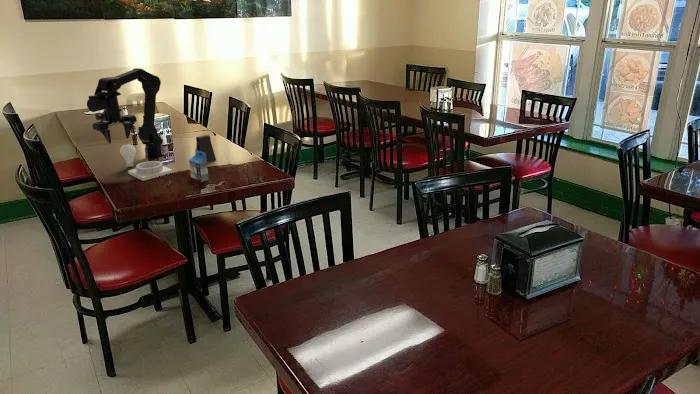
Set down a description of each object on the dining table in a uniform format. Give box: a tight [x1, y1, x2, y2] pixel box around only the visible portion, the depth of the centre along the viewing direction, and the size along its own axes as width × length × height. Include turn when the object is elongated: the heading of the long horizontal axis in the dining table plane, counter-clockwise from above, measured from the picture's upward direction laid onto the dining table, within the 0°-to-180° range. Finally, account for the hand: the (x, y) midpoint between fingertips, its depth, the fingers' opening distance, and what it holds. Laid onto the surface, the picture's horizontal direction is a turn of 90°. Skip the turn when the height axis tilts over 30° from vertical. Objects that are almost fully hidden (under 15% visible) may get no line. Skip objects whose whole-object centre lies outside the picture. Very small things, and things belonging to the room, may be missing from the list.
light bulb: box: [120, 143, 137, 168], centre depth 237 cm, size 7×7×11 cm
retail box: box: [188, 148, 209, 183], centre depth 221 cm, size 9×4×12 cm, turn 47°
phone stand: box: [195, 134, 217, 163], centre depth 247 cm, size 9×6×12 cm, turn 46°
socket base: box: [127, 160, 173, 182], centre depth 230 cm, size 14×14×4 cm
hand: (118, 140), depth 233 cm, fingers open, 9 cm apart
